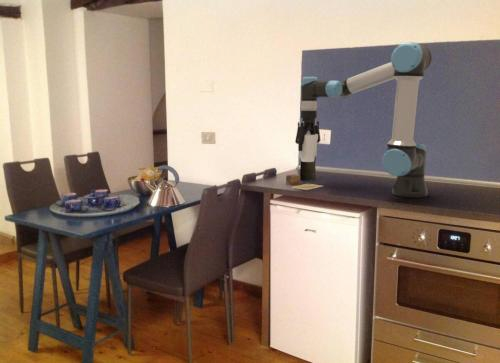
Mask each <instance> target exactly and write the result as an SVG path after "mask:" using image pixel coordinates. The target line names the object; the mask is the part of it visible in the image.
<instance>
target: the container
mask: <svg viewBox="0 0 500 363" xmlns="http://www.w3.org/2000/svg"><path fill="white" fill-rule="evenodd" d="M316 157H317V156H315V159H314V162H302V161H301V160H300V170H299V172H300V173H299V175H300V182H316V181H317V175H316V172H317V170H316V161H317V160H316Z"/></svg>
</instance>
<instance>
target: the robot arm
mask: <svg viewBox="0 0 500 363" xmlns="http://www.w3.org/2000/svg"><path fill="white" fill-rule="evenodd" d="M432 63H433V54H432V51H431V50H430V49H429V47H427V46H425V45H424V44H418V43H417V42H412V41H411V42H403V43H400V44H398V46H397V47H395V49H394V50H393V52H392V54H391V56H390V62H387V63H384V64H381V65H379V66H378V67H374V68H372V69H369V70H366V71H364V72H361V73H359V74H356V75H354V76H350V77H348V78H346V79H343V80H340V81H339V80H333V79H331V80H318V77H317V76H303V77H302V79H301V86H300V88H301V89H300V91H301V94H300V95H301V96H300V97H301V98H300V101H301V102H300V110H301V111H300V118H301V119H302V120H301V121H298V122H297V128H296V136H295V141H294V142H295V144H296V145H298V146H297V147H298V150H297V151H298V158H299V159H301V158H304V144H303V143H304V138H305V135H306V134H308V132H309V134H311V135H315V134H318V140H317V144H320V142H321V134H320V121H317V120H316V119H317V117H318V111H317V109H318V98H329V99H330V98H331V99H332V98H333V99H335V98H338V99H339V98H341V99H345V98H349V97H350V96H351V95H353V94H355V93H358V92H360V91H364V90H366V89H369V88H373V87H375V86H378V85H382V84H383V83H386V82H389V81H392V80H396V89H395V98H394V99H395V100H394V110H393V111H394V112H393V120H392V121H393V122H392V131H391V133H392V134H391V139H390V140H389V141H388V142H387V145H386V146H387V147H386V152H384V154H383V156H382V158H381V164H382V167H383V169H384V170H385V172H386V173H387V174H389V175H390V176H393V177H396V179H395V180H394V184H393V186H392V189H391V193H392V195H394V196H397V197H403V198H425V197H428V187H427V183H426V180H425V174H426V171H425V170H426V158H427V157H426V156H427V146H426V145H425V144H422V143H416V142H415V141H414V135H415V124H416V114H417V113H416V112H417V104H418V93H419V84H420V81H421V80H423V79H424V77H425V74H424V73H425V72H426V71H427V70H428V69H429V68H430V67H431V65H432ZM317 155H318V145H317V146H316V153H315V156H316V157H318V156H317Z"/></svg>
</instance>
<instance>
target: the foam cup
mask: <svg viewBox="0 0 500 363" xmlns="http://www.w3.org/2000/svg"><path fill="white" fill-rule="evenodd" d="M317 140H318V134H315V135H311V134H310V133H307V134H306V135H305V138H304V143H303V144H304V158H300V162H301V161H302V162H314V159H315V153H316V146H317V147H318V143H317Z"/></svg>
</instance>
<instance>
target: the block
mask: <svg viewBox="0 0 500 363" xmlns="http://www.w3.org/2000/svg"><path fill="white" fill-rule="evenodd" d="M285 184H286V185H288V186H290V187H294V186H299V185H301V180H300V174H299V175H298V174H293V173H292V174H287V175H285Z"/></svg>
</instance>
